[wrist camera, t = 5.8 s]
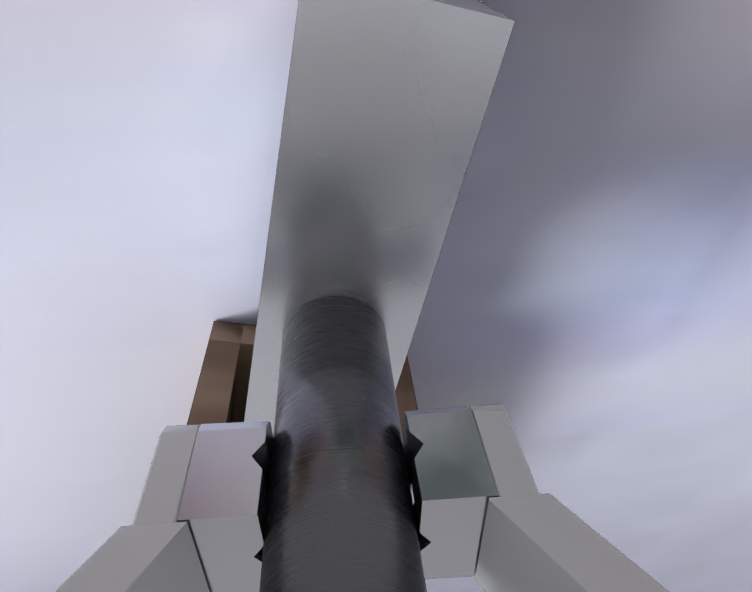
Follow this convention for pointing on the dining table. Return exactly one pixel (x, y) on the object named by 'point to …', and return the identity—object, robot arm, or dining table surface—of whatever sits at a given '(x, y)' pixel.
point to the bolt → (359, 274)
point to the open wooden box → (232, 374)
